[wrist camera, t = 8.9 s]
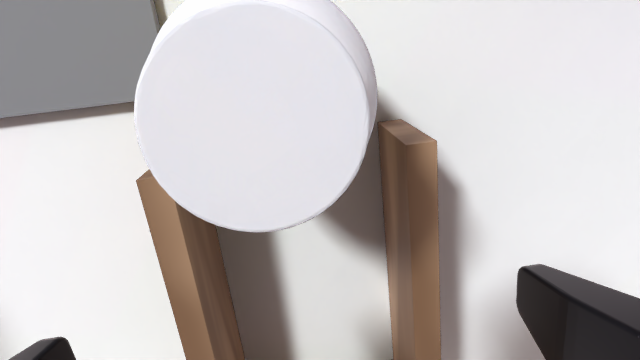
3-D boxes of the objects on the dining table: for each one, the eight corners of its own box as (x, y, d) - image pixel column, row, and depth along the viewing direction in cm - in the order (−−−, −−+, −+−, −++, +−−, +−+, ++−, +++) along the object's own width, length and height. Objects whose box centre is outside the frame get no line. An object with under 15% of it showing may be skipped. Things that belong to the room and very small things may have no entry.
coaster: (123, -134, 16) (117, -140, 15) (175, 95, 19) (171, 96, 18) (-111, -110, 15) (-126, -116, 15) (-20, 119, 18) (-30, 121, 18)
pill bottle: (200, 2, 17) (50, -77, 6) (345, 9, 18) (435, -53, 7) (208, 146, 19) (104, 272, 8) (337, 148, 20) (398, 269, 9)
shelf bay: (401, 119, 20) (436, 140, 15) (413, 371, 25) (442, 446, 20) (173, 148, 19) (136, 180, 15) (233, 399, 25) (220, 482, 20)
